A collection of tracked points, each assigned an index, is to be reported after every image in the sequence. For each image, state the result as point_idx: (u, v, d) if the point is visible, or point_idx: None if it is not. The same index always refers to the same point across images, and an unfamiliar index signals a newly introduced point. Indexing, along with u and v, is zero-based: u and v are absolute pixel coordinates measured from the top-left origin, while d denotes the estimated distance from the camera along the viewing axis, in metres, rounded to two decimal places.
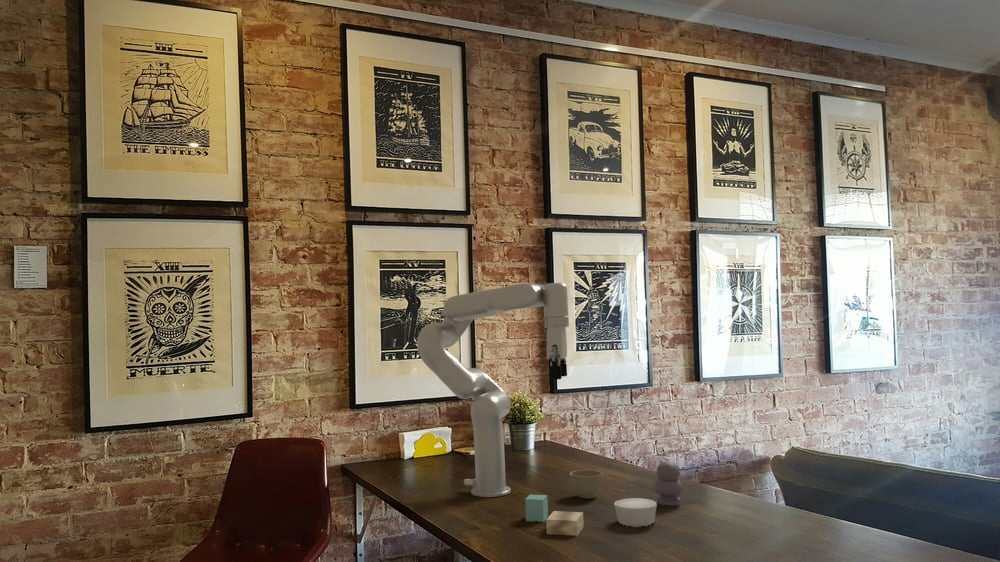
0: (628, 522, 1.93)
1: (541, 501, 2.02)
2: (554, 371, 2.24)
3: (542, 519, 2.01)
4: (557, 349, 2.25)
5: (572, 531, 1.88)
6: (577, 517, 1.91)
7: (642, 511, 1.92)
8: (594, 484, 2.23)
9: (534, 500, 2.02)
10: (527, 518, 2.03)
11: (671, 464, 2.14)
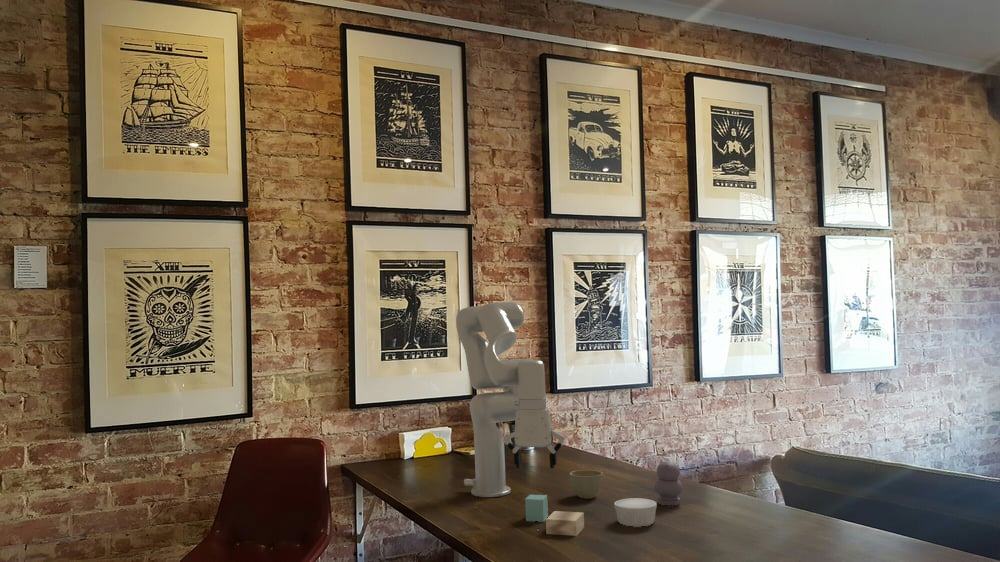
0: (628, 522, 1.93)
1: (541, 501, 2.02)
2: (555, 458, 2.03)
3: (542, 519, 2.01)
4: None
5: (571, 531, 1.88)
6: (577, 517, 1.91)
7: (642, 511, 1.92)
8: (594, 484, 2.23)
9: (534, 500, 2.02)
10: (527, 518, 2.03)
11: (671, 464, 2.14)
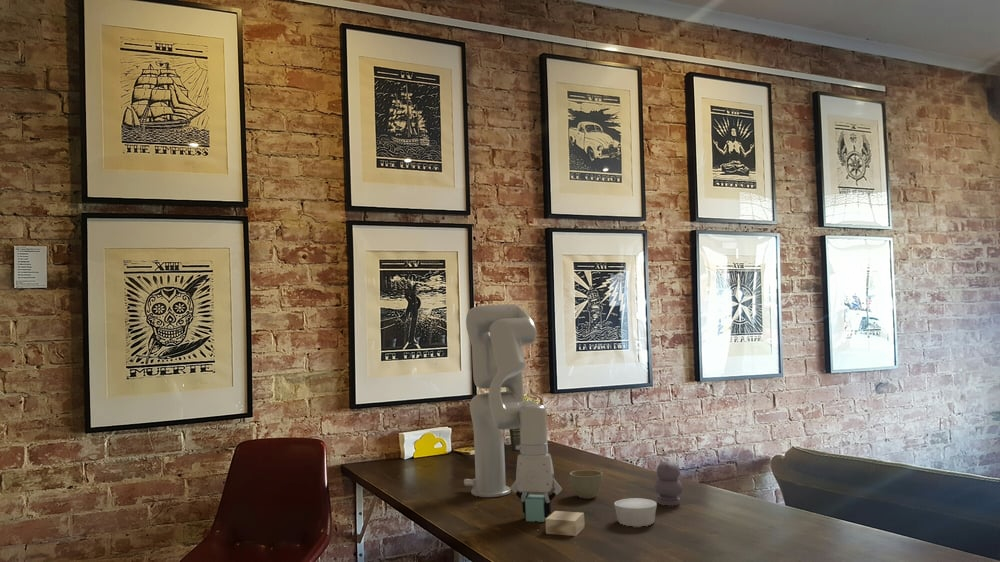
0: (628, 522, 1.93)
1: (541, 501, 2.02)
2: (549, 507, 2.03)
3: (542, 519, 2.01)
4: None
5: (570, 531, 1.88)
6: (577, 517, 1.91)
7: (642, 511, 1.92)
8: (594, 484, 2.23)
9: (534, 500, 2.02)
10: (527, 518, 2.03)
11: (671, 464, 2.14)
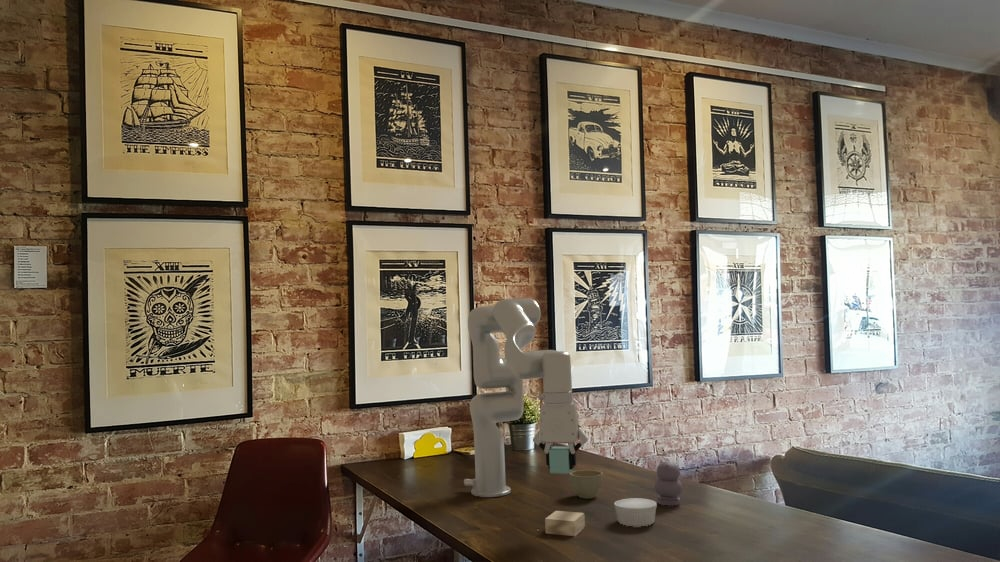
0: (628, 522, 1.93)
1: (566, 451, 1.91)
2: (575, 459, 1.93)
3: (567, 470, 1.91)
4: None
5: (569, 531, 1.88)
6: (576, 517, 1.91)
7: (642, 511, 1.92)
8: (594, 484, 2.23)
9: (558, 451, 1.92)
10: (551, 470, 1.92)
11: (671, 464, 2.14)
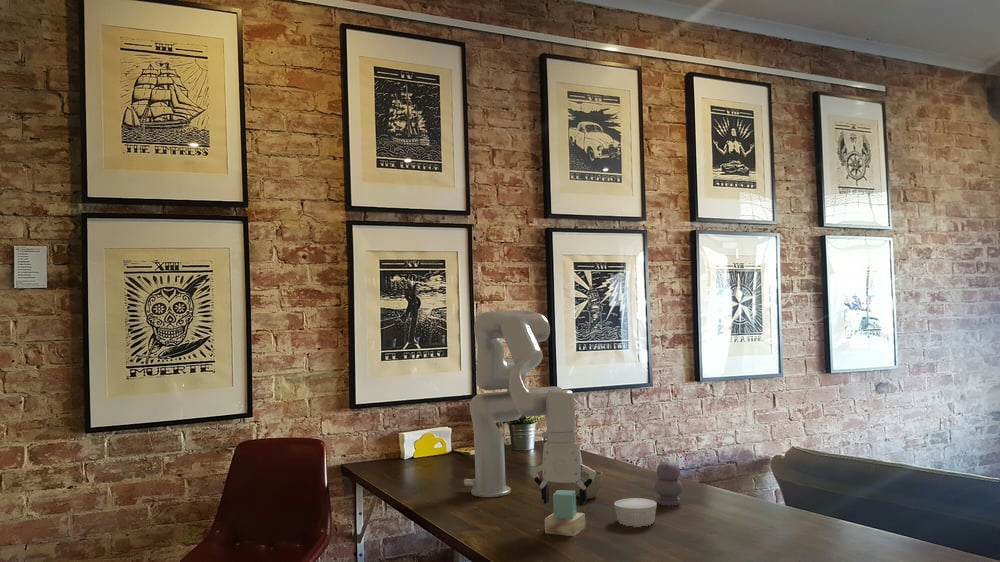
0: (628, 522, 1.93)
1: (570, 497, 1.90)
2: (585, 494, 1.91)
3: (571, 516, 1.90)
4: None
5: (568, 531, 1.88)
6: (576, 518, 1.91)
7: (642, 511, 1.92)
8: (594, 484, 2.23)
9: (562, 496, 1.91)
10: (555, 515, 1.91)
11: (671, 464, 2.14)
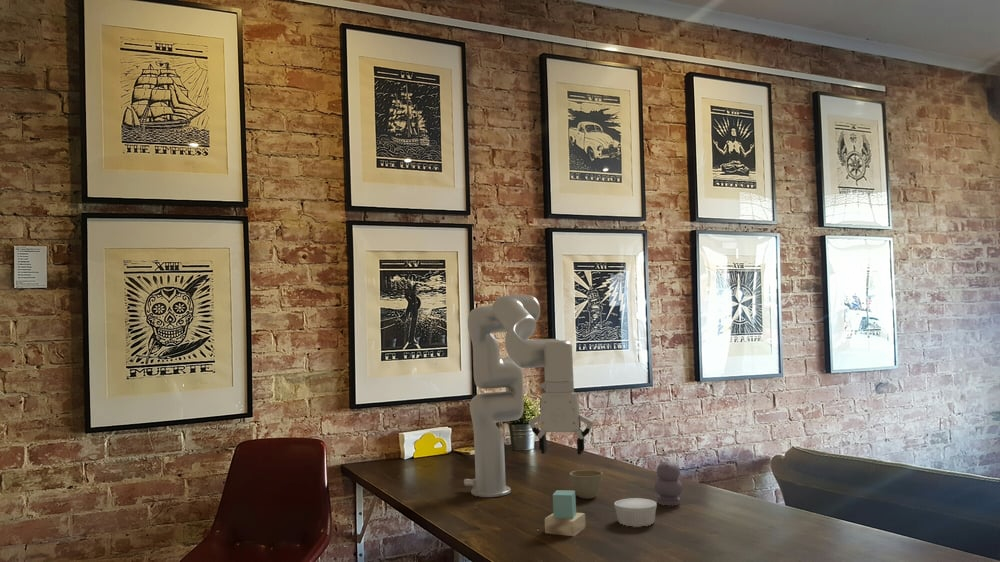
0: (628, 522, 1.93)
1: (570, 497, 1.90)
2: (583, 444, 1.92)
3: (571, 516, 1.90)
4: None
5: (568, 531, 1.88)
6: (576, 518, 1.91)
7: (642, 511, 1.92)
8: (594, 484, 2.23)
9: (562, 496, 1.91)
10: (555, 515, 1.91)
11: (671, 464, 2.14)
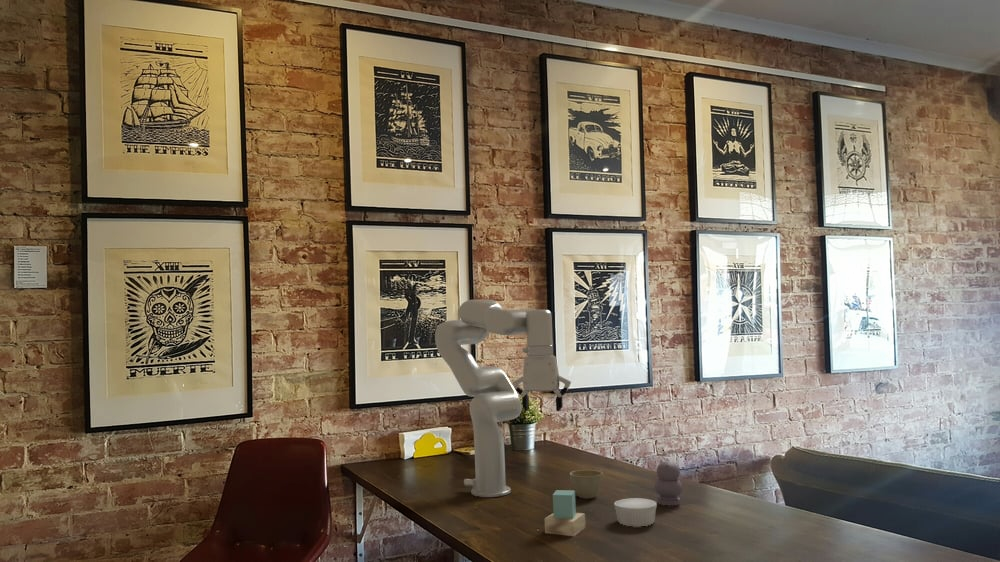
0: (628, 522, 1.93)
1: (570, 497, 1.90)
2: (561, 402, 2.14)
3: (571, 516, 1.90)
4: None
5: (568, 531, 1.88)
6: (576, 518, 1.91)
7: (642, 511, 1.92)
8: (594, 484, 2.23)
9: (562, 496, 1.91)
10: (555, 515, 1.91)
11: (671, 464, 2.14)
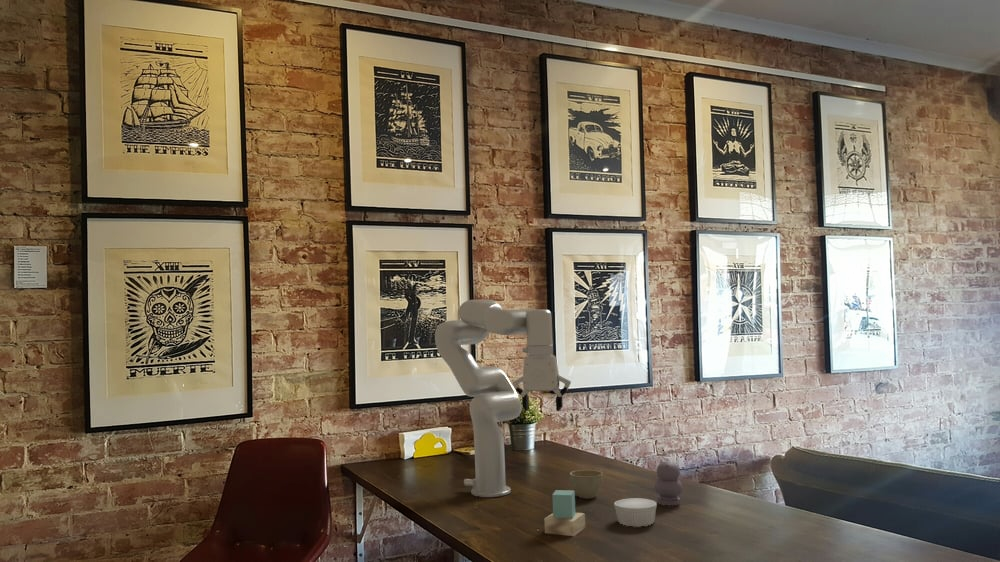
0: (628, 522, 1.93)
1: (570, 496, 1.90)
2: (561, 401, 2.14)
3: (571, 516, 1.90)
4: None
5: (568, 531, 1.88)
6: (575, 518, 1.91)
7: (642, 511, 1.92)
8: (595, 484, 2.23)
9: (562, 496, 1.91)
10: (554, 515, 1.91)
11: (671, 464, 2.14)
